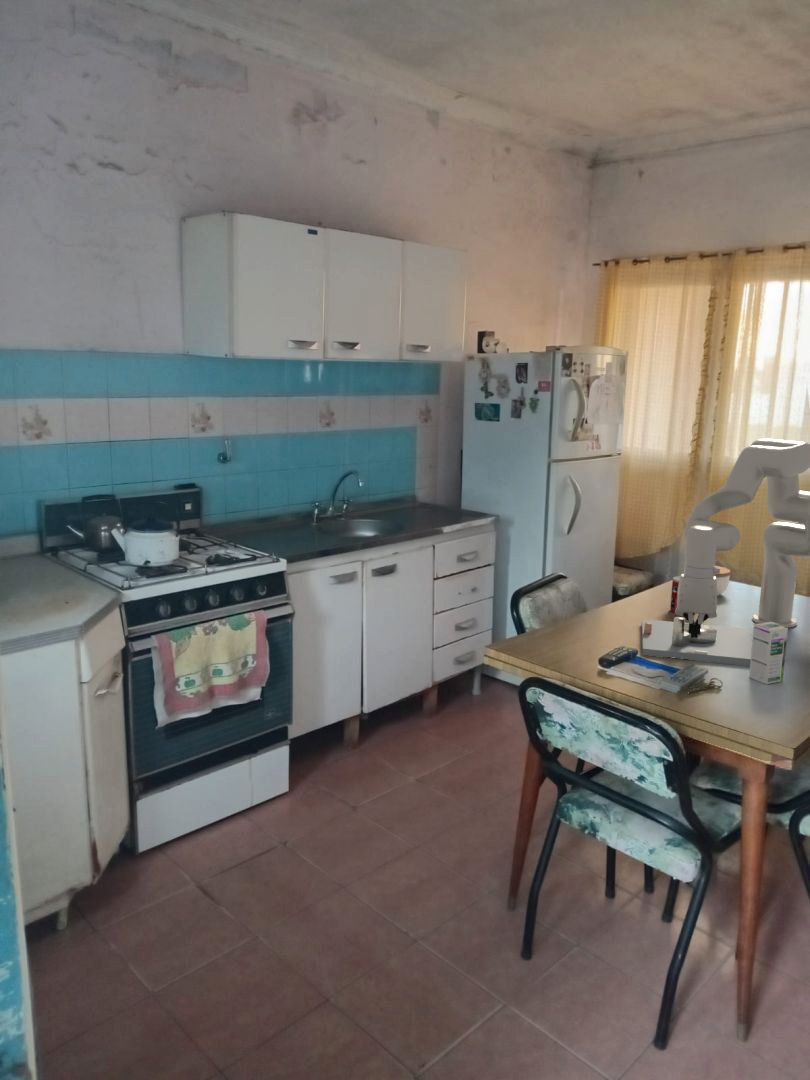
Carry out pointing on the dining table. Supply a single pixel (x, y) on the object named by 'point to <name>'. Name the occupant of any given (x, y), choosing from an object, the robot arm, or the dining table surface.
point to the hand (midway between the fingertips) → (694, 636)
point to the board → (698, 644)
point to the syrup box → (768, 652)
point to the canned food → (674, 593)
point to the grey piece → (683, 637)
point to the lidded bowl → (722, 579)
